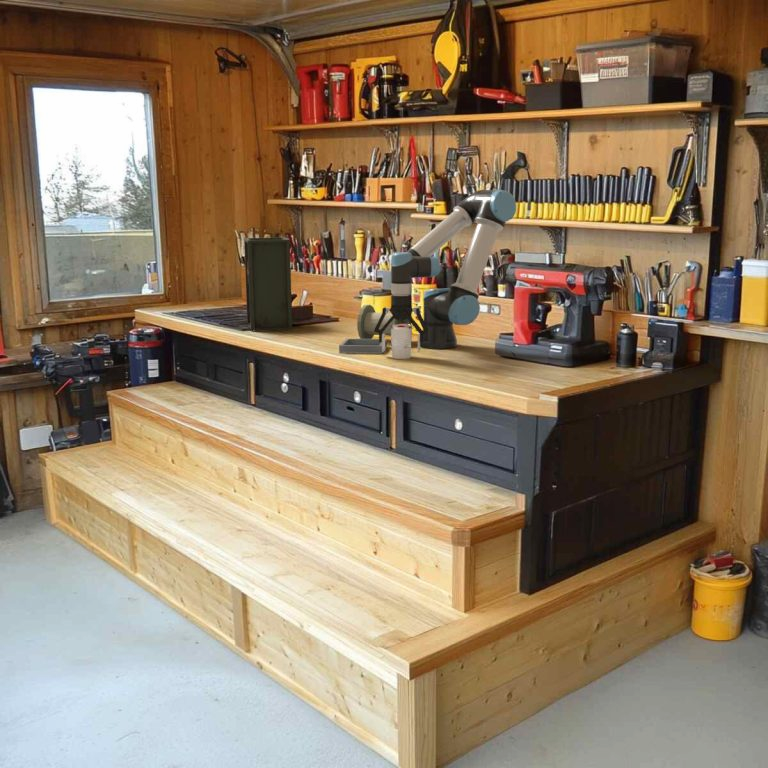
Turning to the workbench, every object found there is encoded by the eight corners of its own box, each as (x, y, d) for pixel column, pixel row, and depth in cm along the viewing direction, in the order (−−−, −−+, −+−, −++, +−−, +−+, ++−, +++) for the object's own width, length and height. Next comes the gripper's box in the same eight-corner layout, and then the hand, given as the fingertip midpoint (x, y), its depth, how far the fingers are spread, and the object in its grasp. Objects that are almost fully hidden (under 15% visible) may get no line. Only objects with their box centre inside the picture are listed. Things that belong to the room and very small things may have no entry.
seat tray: (386, 346, 364) (386, 339, 364) (381, 353, 348) (381, 346, 348) (346, 345, 366) (346, 338, 366) (339, 353, 350) (339, 345, 350)
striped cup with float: (391, 359, 336) (391, 327, 334) (385, 355, 344) (385, 324, 342) (417, 358, 339) (417, 326, 336) (410, 354, 347) (410, 323, 344)
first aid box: (292, 329, 409) (289, 239, 400) (250, 331, 404) (247, 240, 396) (287, 323, 426) (284, 237, 418) (247, 325, 422) (244, 238, 413)
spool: (409, 340, 378) (409, 304, 375) (394, 346, 365) (394, 309, 362) (373, 338, 385) (373, 302, 382) (357, 343, 372) (357, 307, 369)
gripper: (435, 293, 339) (434, 350, 343) (369, 292, 342) (369, 348, 346) (433, 296, 332) (433, 353, 336) (366, 295, 335) (366, 352, 339)
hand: (401, 351), depth 341 cm, fingers open, 13 cm apart
